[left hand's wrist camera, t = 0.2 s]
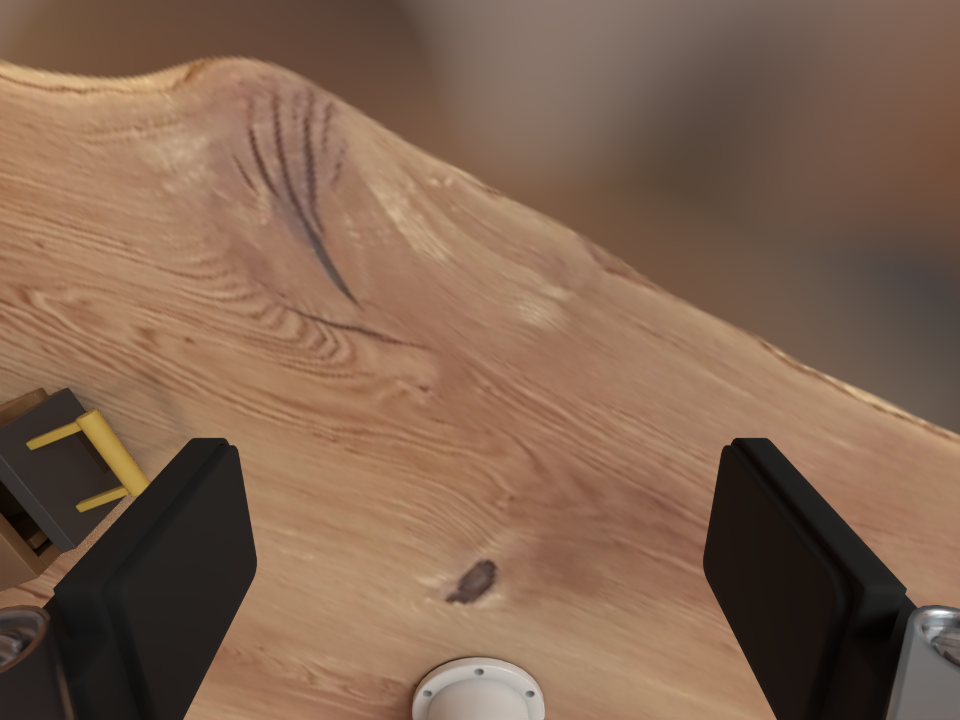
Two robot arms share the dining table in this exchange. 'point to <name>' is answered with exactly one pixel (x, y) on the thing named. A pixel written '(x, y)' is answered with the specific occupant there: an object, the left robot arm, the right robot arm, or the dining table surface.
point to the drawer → (62, 472)
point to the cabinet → (3, 551)
